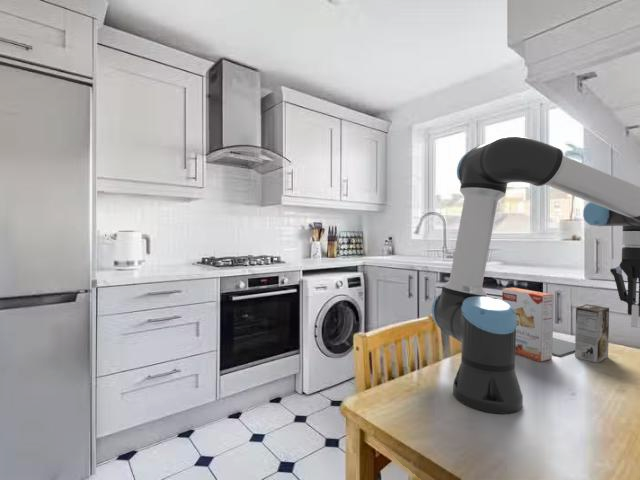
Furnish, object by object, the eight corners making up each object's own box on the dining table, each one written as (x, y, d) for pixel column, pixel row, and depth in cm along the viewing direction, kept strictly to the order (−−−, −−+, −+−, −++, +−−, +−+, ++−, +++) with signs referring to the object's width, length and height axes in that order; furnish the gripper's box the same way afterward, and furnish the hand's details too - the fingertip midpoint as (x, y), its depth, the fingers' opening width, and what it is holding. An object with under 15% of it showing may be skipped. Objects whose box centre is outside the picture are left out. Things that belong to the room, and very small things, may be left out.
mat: (559, 356, 113) (559, 355, 113) (516, 344, 126) (516, 342, 126) (586, 347, 122) (586, 346, 122) (544, 337, 135) (544, 335, 135)
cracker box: (500, 348, 121) (501, 287, 120) (511, 346, 124) (513, 286, 123) (540, 362, 108) (542, 295, 108) (552, 359, 111) (554, 293, 110)
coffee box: (585, 351, 119) (586, 303, 118) (608, 357, 114) (610, 307, 113) (573, 356, 114) (575, 307, 113) (598, 363, 108) (599, 310, 108)
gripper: (674, 247, 99) (671, 330, 100) (617, 245, 111) (614, 320, 111) (664, 247, 96) (661, 334, 96) (606, 245, 107) (603, 323, 107)
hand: (636, 326), depth 104 cm, fingers closed
